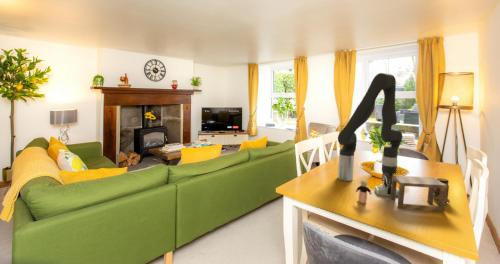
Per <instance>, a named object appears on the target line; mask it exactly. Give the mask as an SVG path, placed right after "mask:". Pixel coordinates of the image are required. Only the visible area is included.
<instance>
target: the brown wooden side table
mask: <svg viewBox="0 0 500 264" xmlns="http://www.w3.org/2000/svg"><path fill="white" fill-rule="evenodd" d="M437 179H438V178H436V177H431V176H429V177H428V176H411V175H410V176H408V175H407V176H406V175H394V174H393V175H392V184H391V196H390V197H389V198H390V201H393V202H395V201H396V197H398V198H397V199H398V200H397V208H398V209H399V210H412V211H424V212H425V211H427V212H436V211H437V212H438V213H445V206H446V204H445V198H446V189H447V185H445V184H444V183H442V182H440V181H439V180H437ZM397 184H398V189H399V195H398V196H396V188H397ZM405 187H419V188H428V189H427V190H428V191H427V203H428V204H429V205H428V204H417V203H404V199H405V191H406V190H405ZM434 188H440V194H439V203H438V202H437V203H438V204H437V205H430V204H434V201H433V197H434Z"/></svg>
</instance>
